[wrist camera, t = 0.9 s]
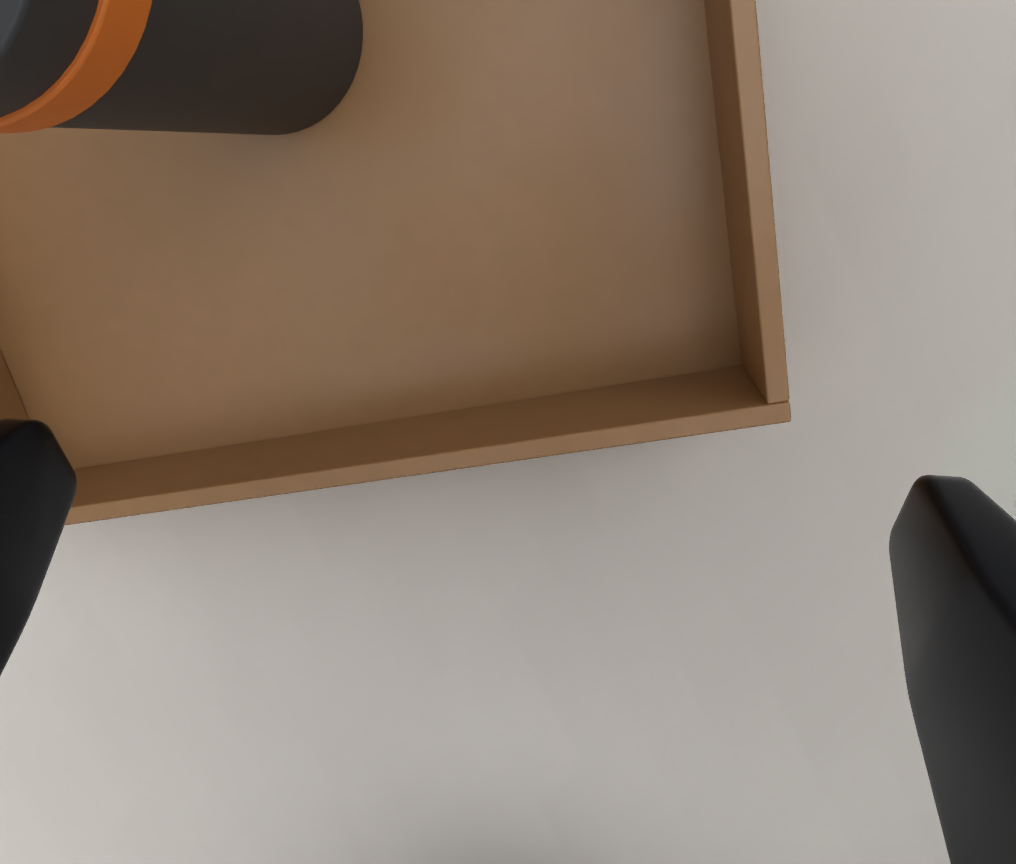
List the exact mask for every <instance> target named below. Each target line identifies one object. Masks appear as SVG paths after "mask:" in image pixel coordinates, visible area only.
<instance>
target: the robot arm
mask: <svg viewBox="0 0 1016 864" xmlns="http://www.w3.org/2000/svg"><path fill="white" fill-rule="evenodd" d="M76 488H77V478H76V474H75V471H74V469H73V467H72V466H71V464H70V462H69V460H68V458H67V457H66V455H65V453H64V451H63V450H62V448H61V446H60V444H59V443H58V441H57V439H56V437H55V435H54V434H53V432H52V430H51V429H50V428H49V426H48V425H46V424H45V423H43V422H42V421H38V420H30V419H13V418H8V419H2V420H0V675H1V673H2V671H3V669H4V667H5V665H6V663H7V661H8V659H9V657H10V655H11V653H12V651H13V649H14V647H15V645H16V643H17V641H18V639H19V637H20V635H21V633H22V631H23V629H24V627H25V625H26V622H27V620H28V618H29V616H30V613H31V611H32V609H33V606H34V604H35V601H36V599H37V596H38V594H39V591H40V588H41V586H42V583H43V580H44V578H45V575H46V572H47V570H48V567H49V564H50V562H51V559H52V556H53V554H54V551H55V548H56V546H57V543H58V540H59V537H60V535H61V532H62V529H63V527H64V524H65V521H66V519H67V516H68V513H69V511H70V508H71V505H72V503H73V500H74V497H75V494H76ZM889 553H890V561H891V569H892V577H893V585H894V592H895V600H896V608H897V616H898V623H899V631H900V639H901V647H902V654H903V662H904V670H905V676H906V683H907V689H908V694H909V699H910V703H911V708H912V712H913V717H914V721H915V725H916V729H917V732H918V736H919V740H920V744H921V748H922V752H923V756H924V760H925V764H926V768H927V772H928V776H929V780H930V784H931V787H932V791H933V795H934V799H935V803H936V807H937V811H938V815H939V819H940V823H941V827H942V831H943V835H944V838H945V842H946V846H947V850H948V854H949V858H950V862H951V864H1016V520H1014V519H1013V518H1012V517H1011V516H1010V515H1009V514H1008V513H1006V512H1005V511H1004V510H1003V509H1002V508H1001V507H1000V506H999V505H997V504H996V503H995V502H994V501H993V500H992V499H991V498H989V497H988V496H987V495H986V494H985V493H984V492H983V491H981V490H980V489H979V488H978V487H977V486H976V485H975V484H973V483H972V482H971V481H969V480H967V479H965V478H962V477H952V476H936V475H925V476H921V477H919V478H918V479H917V480H916V481H915V482H914V484H913V486H912V487H911V490H910V492H909V494H908V496H907V498H906V500H905V502H904V504H903V506H902V508H901V511H900V513H899V515H898V517H897V519H896V521H895V523H894V525H893V528H892V530H891V534H890V541H889Z"/></svg>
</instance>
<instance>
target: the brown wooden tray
mask: <svg viewBox="0 0 1016 864" xmlns="http://www.w3.org/2000/svg"><path fill="white" fill-rule="evenodd" d="M359 3H360V8H361V14H362V23H363V42H362V51H361V57H360V61H359V65H358V69H357V72H356V74H355V77H354V80H353V82H352V84H351V86H350V88H349V90H348V91H347V93H346V95H345V96H344V97H343V99H342V100H341V102H340V103H339V104H338V105H337V106H336V107H335V108H334V110H333V111H332V112H331V113H330V114H328V115H327V116H326V117H325V118H323V119H322V120H321V121H319V122H317V123H316V124H314V125H312V126H311V127H308V128H306V129H303V130H301V131H298V132H294V133H289V134H281V135H259V134H229V133H199V132H169V131H139V130H109V129H79V128H45V129H41V130H37V131H33V132H24V133H11V134H1V133H0V420H2V419H8V418H13V419H30V420H38V421H42V422H43V423H45V424H46V425H48V426H49V428H50V429H51V430H52V432H53V434H54V435H55V437H56V439H57V441H58V443H59V444H60V446H61V448H62V450H63V451H64V453H65V455H66V457H67V458H68V460H69V462H70V464H71V466H72V467H73V469H74V471H75V474H76V478H77V488H76V494H75V497H74V500H73V503H72V505H71V508H70V511H69V513H68V516H67V519H66V521H65V524H64V525H70V524H77V523H84V522H91V521H98V520H105V519H112V518H119V517H126V516H133V515H140V514H147V513H154V512H161V511H168V510H175V509H182V508H189V507H196V506H203V505H210V504H217V503H224V502H231V501H238V500H245V499H252V498H259V497H266V496H273V495H280V494H287V493H294V492H301V491H308V490H315V489H322V488H329V487H336V486H343V485H350V484H357V483H364V482H371V481H378V480H385V479H392V478H399V477H406V476H413V475H420V474H427V473H434V472H441V471H448V470H455V469H462V468H469V467H476V466H483V465H490V464H497V463H504V462H511V461H518V460H525V459H532V458H539V457H546V456H553V455H560V454H567V453H574V452H581V451H588V450H595V449H602V448H609V447H616V446H623V445H630V444H637V443H644V442H651V441H658V440H665V439H672V438H679V437H686V436H693V435H700V434H707V433H714V432H721V431H728V430H735V429H742V428H749V427H756V426H763V425H770V424H777V423H784V422H789V421H791V411H790V403H789V387H788V375H787V364H786V352H785V340H784V329H783V317H782V305H781V293H780V282H779V270H778V258H777V247H776V235H775V223H774V211H773V200H772V188H771V176H770V165H769V153H768V141H767V130H766V118H765V106H764V94H763V83H762V71H761V59H760V48H759V36H758V24H757V13H756V1H755V0H359Z"/></svg>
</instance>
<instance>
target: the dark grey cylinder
mask: <svg viewBox="0 0 1016 864" xmlns="http://www.w3.org/2000/svg"><path fill="white" fill-rule="evenodd" d="M362 42H363V23H362V14H361V8H360V3H359V0H0V133H1V134H11V133H24V132H33V131H37V130H41V129H45V128H79V129H109V130H139V131H169V132H199V133H229V134H259V135H281V134H289V133H294V132H298V131H301V130H303V129H306V128H308V127H311V126H312V125H314V124H316V123H317V122H319V121H321V120H322V119H323V118H325V117H326V116H327V115H328V114H330V113H331V112H332V111H333V110H334V108H335V107H336V106H337V105H338V104H339V103H340V102H341V100H342V99H343V97H344V96H345V95H346V93H347V91H348V90H349V88H350V86H351V84H352V82H353V80H354V77H355V74H356V72H357V69H358V65H359V61H360V57H361V51H362Z"/></svg>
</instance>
